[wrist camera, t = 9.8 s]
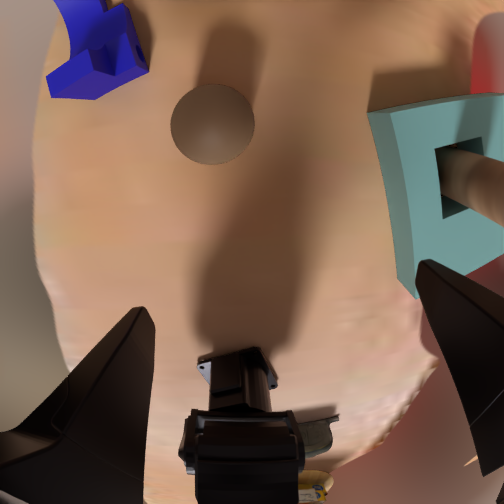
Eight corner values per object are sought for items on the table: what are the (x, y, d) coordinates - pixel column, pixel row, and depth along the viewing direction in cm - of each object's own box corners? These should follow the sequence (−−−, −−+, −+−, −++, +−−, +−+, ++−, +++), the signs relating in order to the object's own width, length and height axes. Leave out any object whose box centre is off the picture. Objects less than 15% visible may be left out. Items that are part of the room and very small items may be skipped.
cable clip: (149, 72, 16) (118, 56, 11) (95, 100, 17) (51, 97, 11) (115, -38, 11) (86, -70, 6) (67, -11, 12) (29, -33, 6)
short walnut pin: (257, 140, 19) (266, 147, 13) (201, 161, 19) (188, 177, 14) (236, 87, 17) (237, 72, 12) (180, 108, 18) (158, 104, 12)
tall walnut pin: (450, 191, 21) (557, 251, 10) (417, 188, 21) (531, 254, 9) (455, 147, 19) (571, 188, 8) (422, 141, 19) (547, 179, 8)
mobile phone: (230, 467, 30) (344, 451, 30) (225, 459, 29) (346, 442, 29) (230, 438, 35) (337, 423, 34) (226, 428, 34) (338, 412, 33)
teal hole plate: (500, 229, 23) (520, 242, 20) (397, 278, 24) (415, 299, 21) (489, 92, 17) (514, 94, 14) (366, 112, 18) (389, 113, 15)
